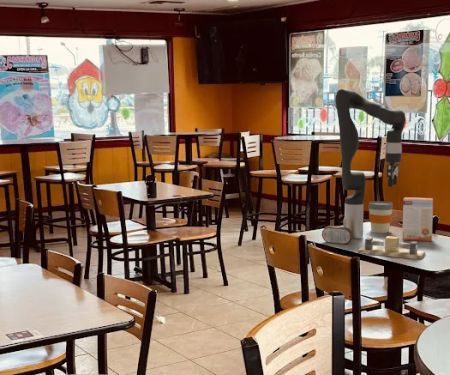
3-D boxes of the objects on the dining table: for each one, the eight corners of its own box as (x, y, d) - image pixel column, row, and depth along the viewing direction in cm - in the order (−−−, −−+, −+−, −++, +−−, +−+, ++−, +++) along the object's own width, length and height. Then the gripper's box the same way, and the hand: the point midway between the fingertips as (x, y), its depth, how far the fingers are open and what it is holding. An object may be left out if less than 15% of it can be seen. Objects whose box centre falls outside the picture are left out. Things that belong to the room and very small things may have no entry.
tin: (353, 244, 334) (353, 227, 333) (351, 245, 332) (351, 228, 330) (322, 241, 341) (323, 224, 340) (320, 242, 338) (321, 225, 337)
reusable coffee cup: (394, 233, 360) (395, 204, 358) (370, 233, 361) (371, 204, 359) (389, 228, 373) (390, 201, 371) (365, 228, 373) (366, 201, 371)
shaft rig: (358, 253, 315) (358, 238, 314) (364, 248, 324) (364, 235, 323) (420, 259, 303) (421, 244, 302) (425, 254, 312) (425, 240, 311)
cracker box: (432, 239, 345) (433, 197, 342) (431, 241, 339) (433, 199, 337) (403, 237, 350) (404, 196, 347) (402, 240, 344) (403, 198, 341)
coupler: (398, 250, 314) (398, 237, 313) (396, 252, 310) (396, 238, 310) (387, 249, 316) (387, 236, 315) (384, 250, 313) (385, 237, 312)
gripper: (398, 153, 324) (396, 187, 326) (404, 151, 336) (403, 184, 338) (382, 152, 327) (380, 186, 329) (389, 150, 340) (388, 183, 342)
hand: (392, 185), depth 334 cm, fingers open, 8 cm apart
